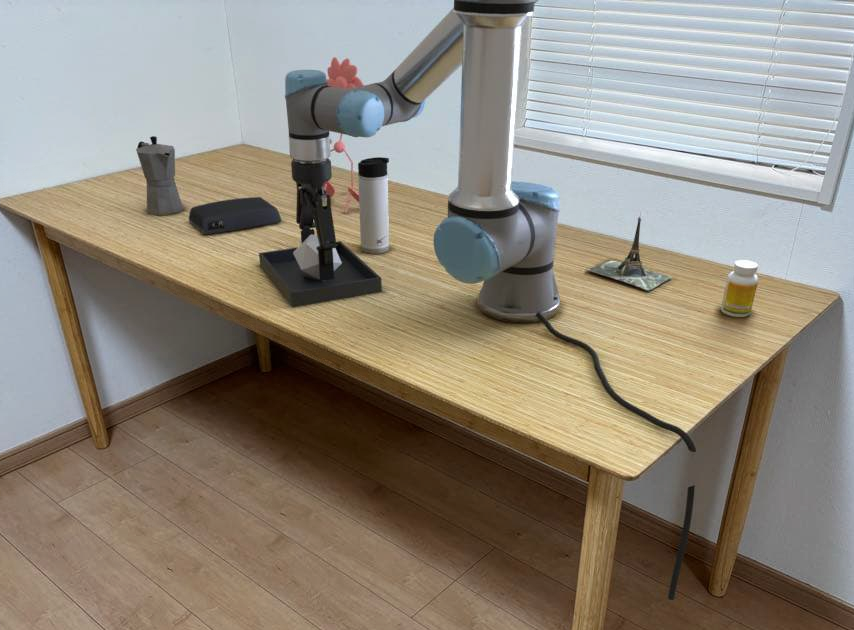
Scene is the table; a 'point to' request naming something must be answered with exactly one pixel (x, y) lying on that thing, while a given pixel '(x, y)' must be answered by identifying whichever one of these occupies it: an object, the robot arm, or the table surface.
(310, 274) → the die
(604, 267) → the eiffel tower figurine
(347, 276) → the black tray
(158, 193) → the coffeepot
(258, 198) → the hard drive
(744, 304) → the supplement bottle
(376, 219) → the travel mug
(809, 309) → the table surface
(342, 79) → the figurine
